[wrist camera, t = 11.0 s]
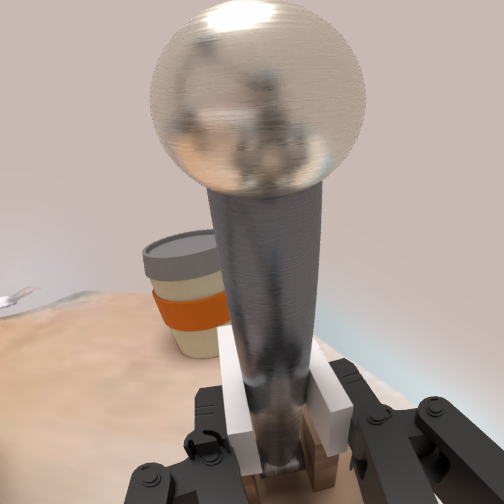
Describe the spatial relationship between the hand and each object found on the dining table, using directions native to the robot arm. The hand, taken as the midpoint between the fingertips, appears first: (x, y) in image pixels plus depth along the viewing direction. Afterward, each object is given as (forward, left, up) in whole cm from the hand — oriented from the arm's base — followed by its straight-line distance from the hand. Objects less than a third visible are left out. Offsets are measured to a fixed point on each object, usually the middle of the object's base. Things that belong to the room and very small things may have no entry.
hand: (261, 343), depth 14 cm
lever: (0, 0, -11) cm, 11 cm away
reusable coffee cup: (-5, +26, -16) cm, 31 cm away
